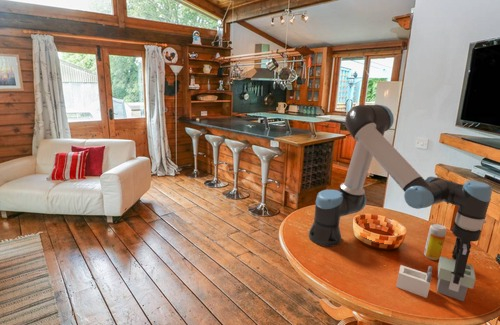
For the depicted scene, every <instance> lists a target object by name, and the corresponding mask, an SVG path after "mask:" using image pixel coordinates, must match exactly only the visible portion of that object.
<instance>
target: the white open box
mask: <svg viewBox="0 0 500 325" xmlns="http://www.w3.org/2000/svg"><path fill="white" fill-rule="evenodd" d="M432 271H433V266H431V265H429V266H428V268H427V271H426V272H424V271H420V270H418V269H414V268H411V267H408V266H405V265H402V264H400V266H399V271H398V275H397V280H396V285H395V287H396V288H398V289H401V290H403V291H406V292H408V293H411V294H413V295H414V294H415V295H417V296H420V297H422V298H425V299H427V298H428V295H429V292H430V288H431V281H432V276H433V273H432Z"/></svg>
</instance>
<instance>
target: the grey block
mask: <svg viewBox="0 0 500 325" xmlns="http://www.w3.org/2000/svg"><path fill="white" fill-rule="evenodd" d="M455 263H456V260H453V258H448V257H445V256H442V255H440V258H439V259H438V263H437V279H439V278H440V279H443V280H447V281H451V277H452V273H451V272H454V268H455ZM474 268H475V267H474V265H473V264H469V263H467V264H466V269H465V273H464V278H462V280H461V283H460V285H462V286H465V287H468V288H469V289H471V290H472V289H474V286H475V282H476V274H475V269H474ZM468 288H467V289H468Z"/></svg>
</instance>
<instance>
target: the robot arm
mask: <svg viewBox="0 0 500 325" xmlns="http://www.w3.org/2000/svg"><path fill="white" fill-rule="evenodd" d="M393 124H394V114H393V112H392V110H391V109H390V108H389V107H388V106H385V105H382V104H359V105H355V106H353V107H352V108H350V110H349V111H347V113H346V116H345V127H346V129H347V131H348V132H349V133H348V134H350V136H351V137H352V138H353V139H354V141H355V144H354V147H353V148H354V149H353V152H352V155H351V159H350V163H349V165H348V169H347V173H346V176H345V179H344V182H342V183H341V184H340V185H339V189H338V190H336V189H324V190H321V191H319V192H318V193H317V195H316V199H315V206H314V207H315V209H314V218H313V223H312V225H311V227H310V229H309V232H308V238H309V240H310V241H312V242H313V243H314V244H316V245H319V246H322V247H335V246H338V245H339V244H341V242H342V234H341V230H340V220H341V217H345V216H349V215H352V214H355V213H358V212H360V211H362V210H363V209H365V207H366V205H367V197H366V193H365V192H366V191H365V188H364V185H365V182H366V179H367V175H368V172H369V169H370V166H371V164H372V160H373V158H374V159H375V160H376V161H377V162H378V163H379V165H380V166H381V167H382V168H383V169H384V170H385V171H386V172H387V174H388V175H389V177H391V178H392V179H393V180H394V182H396V184H397V185H398V186H399V187H400V188H401V190H403V192H404V194H403V196H404V202H405V203H406V204H407V205H408V206H409V207H411V208H413V209H415V210H419V209H425V208H428V207H431V206H434V205H436V204H439V203H443V202H444V203H448V204H450V205H454V206H457V207H458V208H457V212H456V214H455V217H454V222H455V223H454V224H453V226H452V231H451V233H452V234H453V236H454V237H456V238H455V243H454V247H453V250H452V252H451V253H452V255H451V259H453V260H456V263H455V268H454V272H451V273H452V277H451V281H450V284H449V289H450V290H453V291H456V292H458V290H459V287H460V283H461V280H462V278H464V273H465V269H466V264H468V263H467V262H468V258H469V256H470V253H471V247H472V244H471V242H478V241H479V240H480V238H481V234H482V229H483V226H484V224H487V220H486V219H485V218H486V215H487V212H488V209H489V206H490V203H491V199H492V193H493V188H492V186H491V185H489V184H488V183H485V182H482V181H476V180H466V181H465V182H464V184H462V183H458V182H454V181H451V180H447V179H444V178H441V177H436V176H428V177H427V178H426V179H425V178H423V177H422V176H421V175H420V173H419V172H418V171H417V170H416V169H415V168H414V167H413V166H412V165H411V164H410V163H409V162H408V161H407V160H406V158H405V157H403V155H402V154H401V153H400V152H399V151H398V150H397V149H396V148H395V147H394V146H393V145H392V144H391V143H390V141H388V140H387V139H386V137H385V136H384V135H385V132H387V131H388V130H390V129H392V127H393Z"/></svg>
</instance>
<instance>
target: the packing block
mask: <svg viewBox="0 0 500 325" xmlns="http://www.w3.org/2000/svg"><path fill="white" fill-rule="evenodd" d="M437 279H438V280H437V284H436V290H437V291H436V293H437V294H441V295H443V296H447V297H450V298H452V299H456V300H458V301H461V302H465V298H466V294H467V292H468V287H465V286H462V285H460V287H459V290H458V292H456V291H453V290H450V289H449V284H450V281H447V280H443V279H440V278H437Z"/></svg>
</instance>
